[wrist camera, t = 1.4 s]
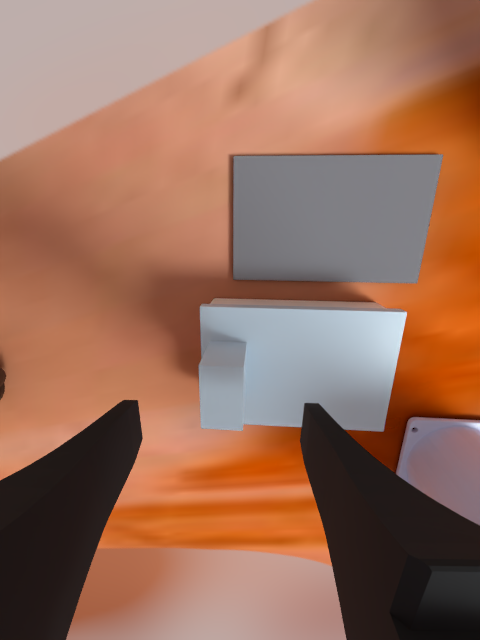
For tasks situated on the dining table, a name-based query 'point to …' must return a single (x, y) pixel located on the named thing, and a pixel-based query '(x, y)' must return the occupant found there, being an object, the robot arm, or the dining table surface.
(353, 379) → the lid
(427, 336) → the dining table surface
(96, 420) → the robot arm
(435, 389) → the dining table surface
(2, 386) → the mug
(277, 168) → the mat
